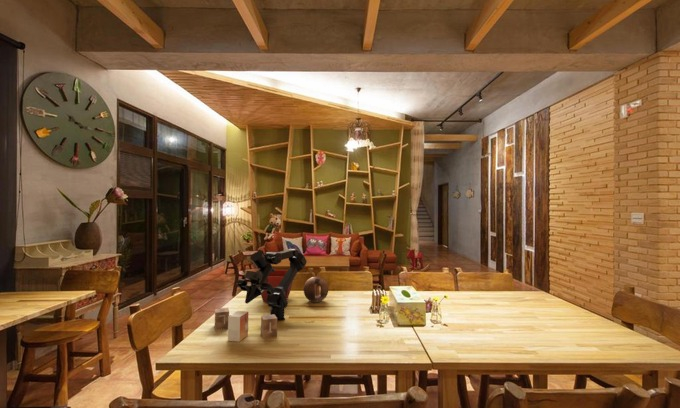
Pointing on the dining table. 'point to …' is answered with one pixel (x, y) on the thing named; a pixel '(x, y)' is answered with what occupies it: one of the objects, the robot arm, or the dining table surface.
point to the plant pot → (276, 283)
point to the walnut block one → (269, 326)
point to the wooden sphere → (315, 289)
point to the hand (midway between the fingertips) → (246, 303)
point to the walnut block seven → (221, 318)
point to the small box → (238, 326)
